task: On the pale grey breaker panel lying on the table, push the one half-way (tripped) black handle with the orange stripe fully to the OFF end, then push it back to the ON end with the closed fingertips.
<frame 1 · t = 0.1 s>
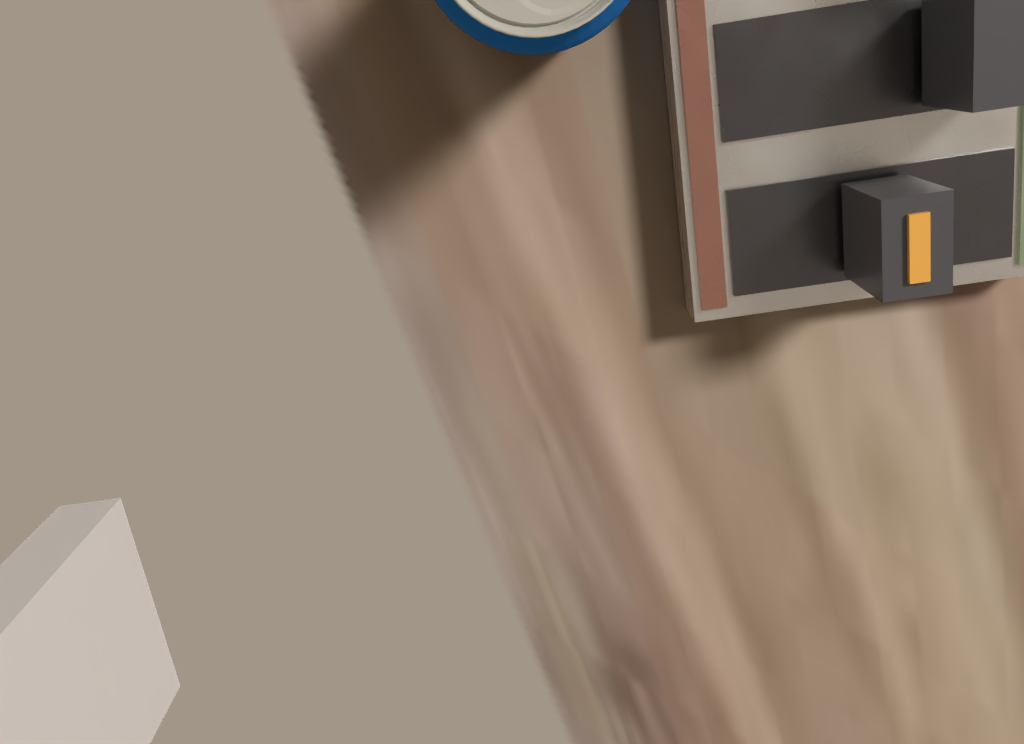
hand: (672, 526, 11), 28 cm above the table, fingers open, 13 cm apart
panel: (846, 61, 36), on the table
tripped breaker: (896, 236, 33), point 5 cm above the table, slide at 0.0 cm
breaker b: (982, 49, 31), point 5 cm above the table, slide at 3.0 cm
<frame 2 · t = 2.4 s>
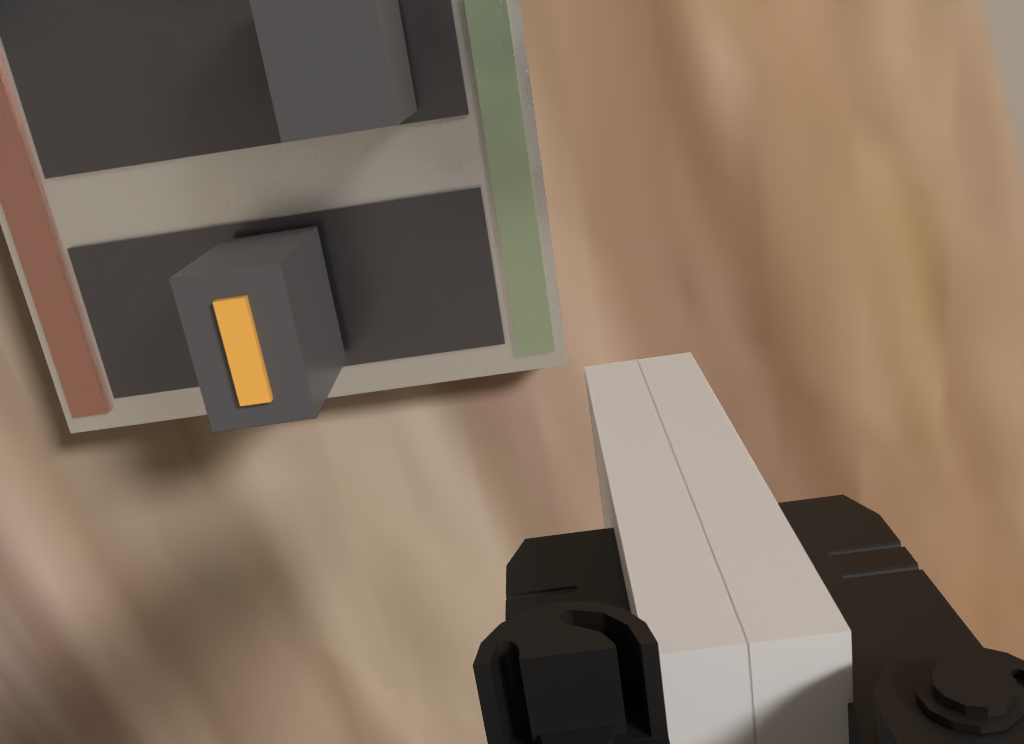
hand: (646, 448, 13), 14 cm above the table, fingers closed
panel: (257, 57, 24), on the table
tripped breaker: (266, 324, 22), point 5 cm above the table, slide at 0.0 cm
breaker b: (338, 39, 20), point 5 cm above the table, slide at 3.0 cm
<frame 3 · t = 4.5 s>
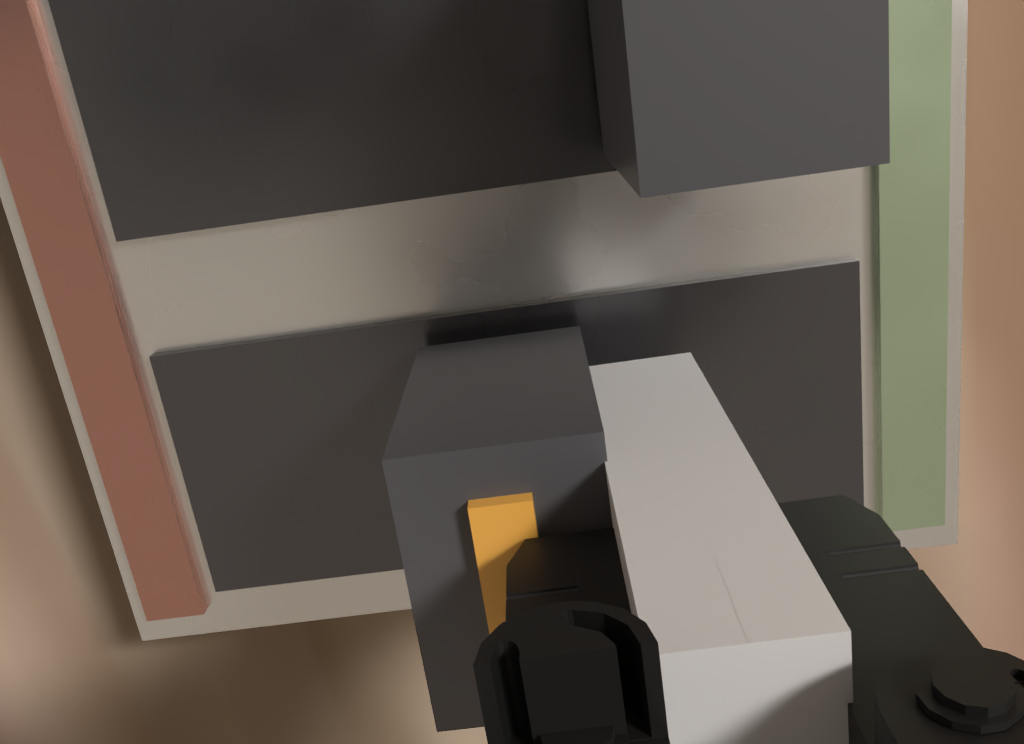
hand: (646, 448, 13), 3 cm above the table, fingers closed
panel: (464, 38, 15), on the table
tripped breaker: (515, 511, 12), point 5 cm above the table, slide at 0.0 cm, touching gripper
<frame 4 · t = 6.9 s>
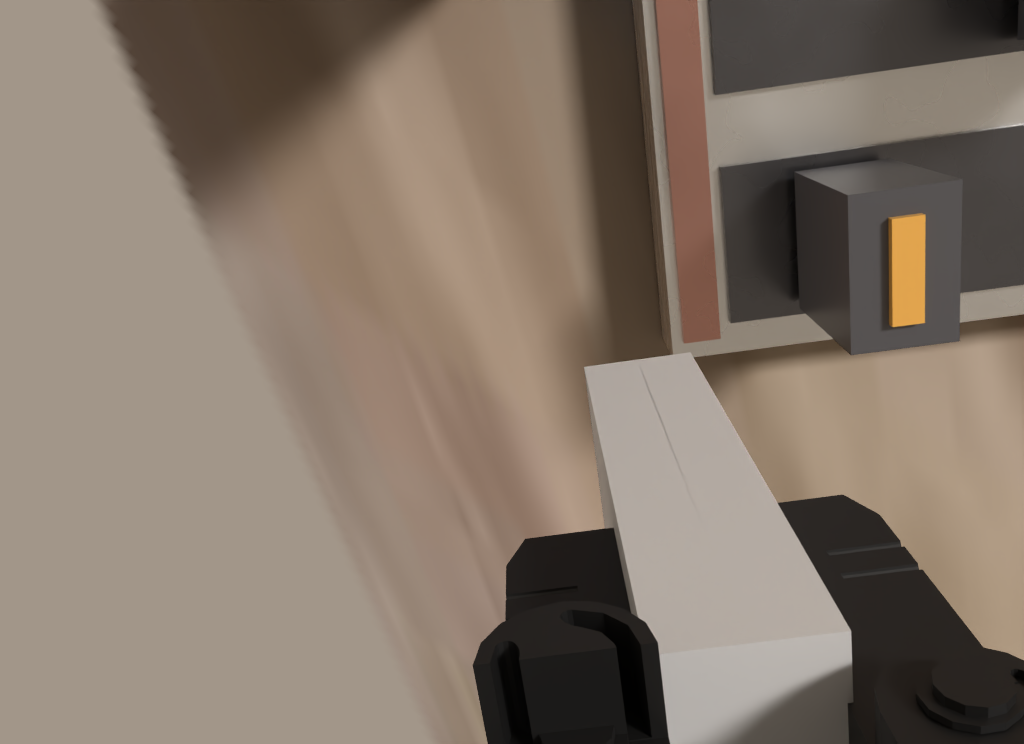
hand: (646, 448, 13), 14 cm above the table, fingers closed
tripped breaker: (873, 252, 22), point 5 cm above the table, slide at -2.5 cm
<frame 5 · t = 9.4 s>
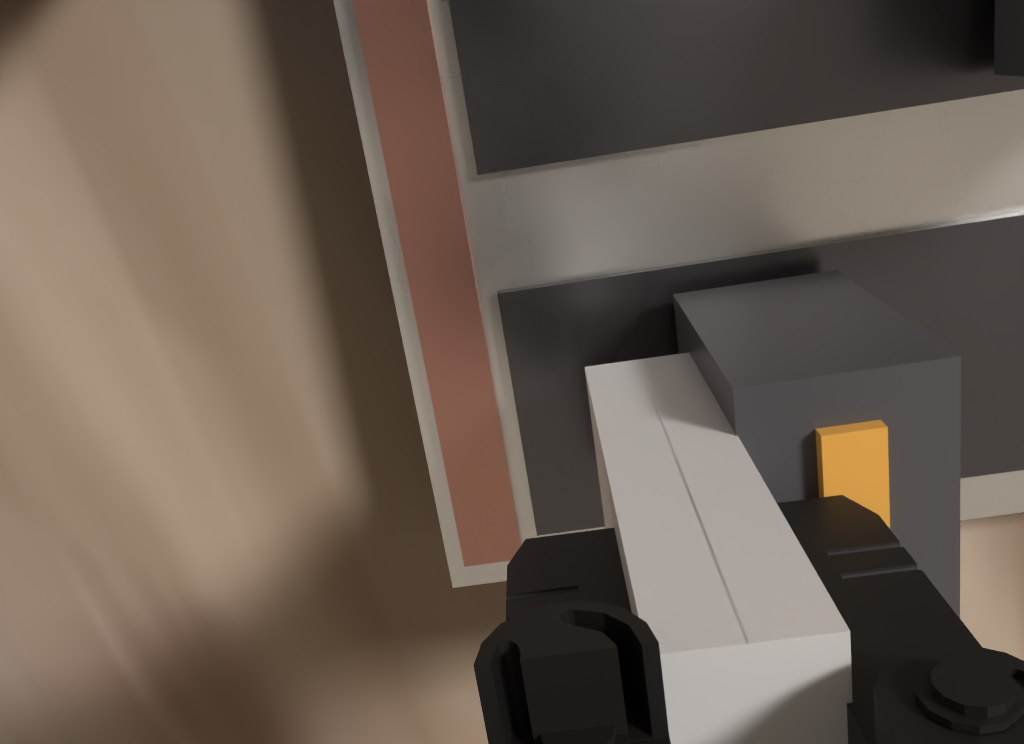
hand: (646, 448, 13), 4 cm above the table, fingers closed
tripped breaker: (802, 452, 12), point 5 cm above the table, slide at -1.6 cm, touching gripper
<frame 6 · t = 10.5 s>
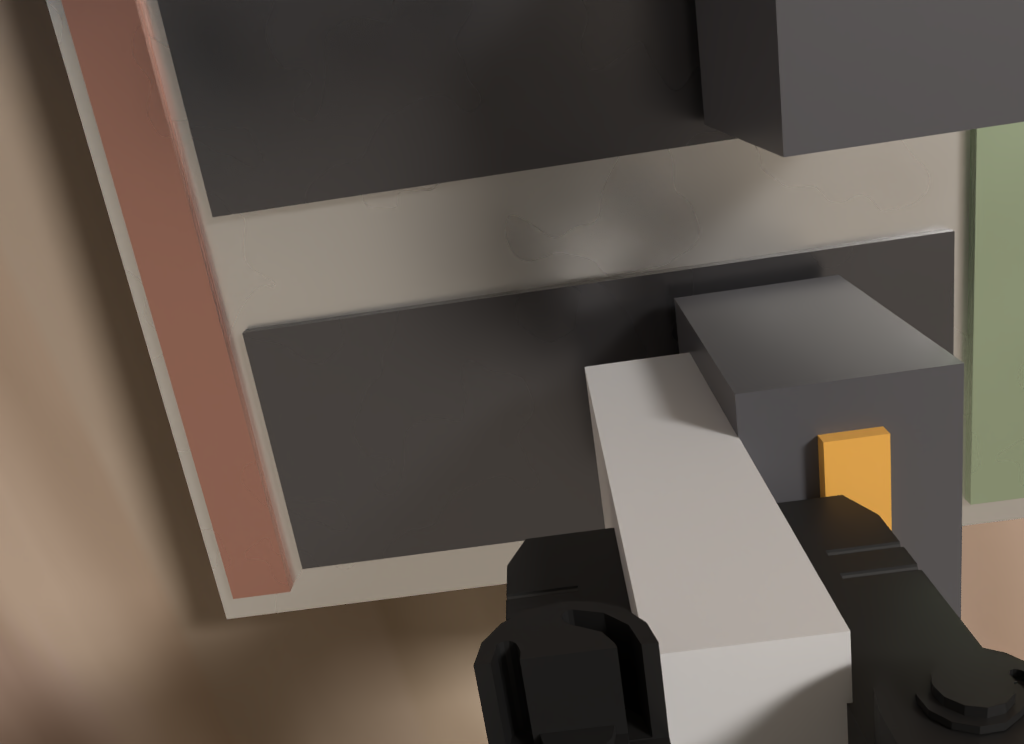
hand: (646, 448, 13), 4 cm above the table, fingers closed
panel: (551, 13, 15), on the table
tripped breaker: (803, 457, 12), point 5 cm above the table, slide at 2.4 cm, touching gripper
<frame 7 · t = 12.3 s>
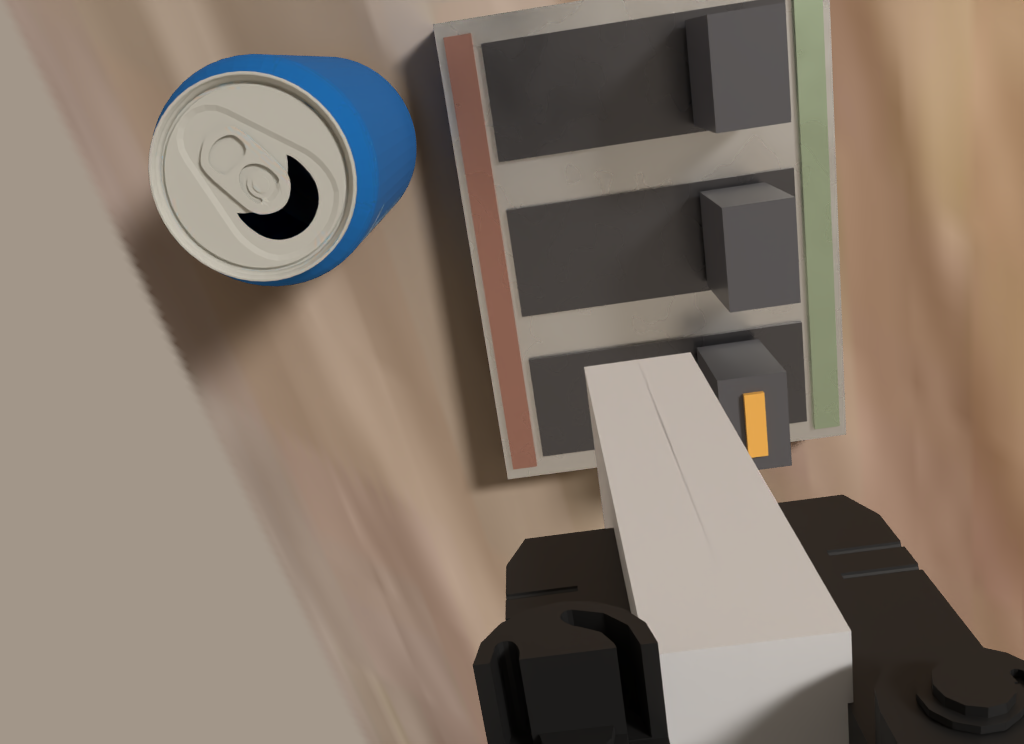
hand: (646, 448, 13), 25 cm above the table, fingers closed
beverage can: (337, 143, 37), on the table
breaker a: (735, 68, 31), point 5 cm above the table, slide at 3.0 cm
panel: (646, 234, 37), on the table
tripped breaker: (742, 405, 35), point 5 cm above the table, slide at 2.4 cm
breaker b: (748, 244, 33), point 5 cm above the table, slide at 3.0 cm
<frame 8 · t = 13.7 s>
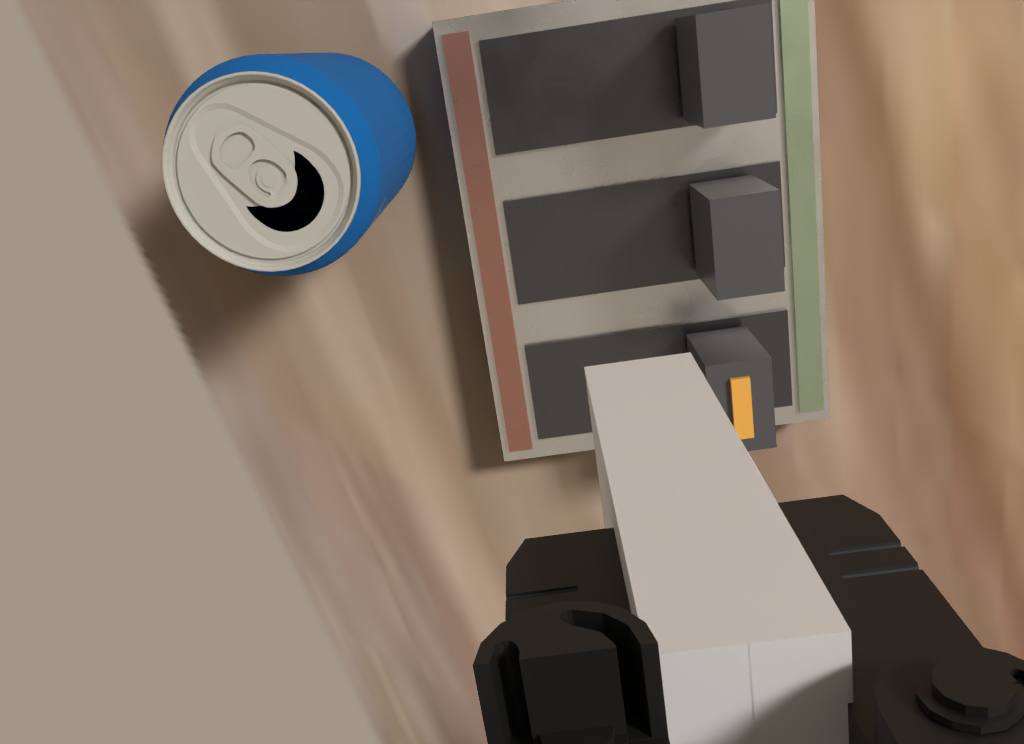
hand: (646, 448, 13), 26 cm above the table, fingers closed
beverage can: (339, 136, 38), on the table
breaker a: (723, 66, 32), point 5 cm above the table, slide at 3.0 cm
panel: (638, 224, 39), on the table
tripped breaker: (730, 389, 36), point 5 cm above the table, slide at 2.4 cm
breaker b: (735, 235, 34), point 5 cm above the table, slide at 3.0 cm
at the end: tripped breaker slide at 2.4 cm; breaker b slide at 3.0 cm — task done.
